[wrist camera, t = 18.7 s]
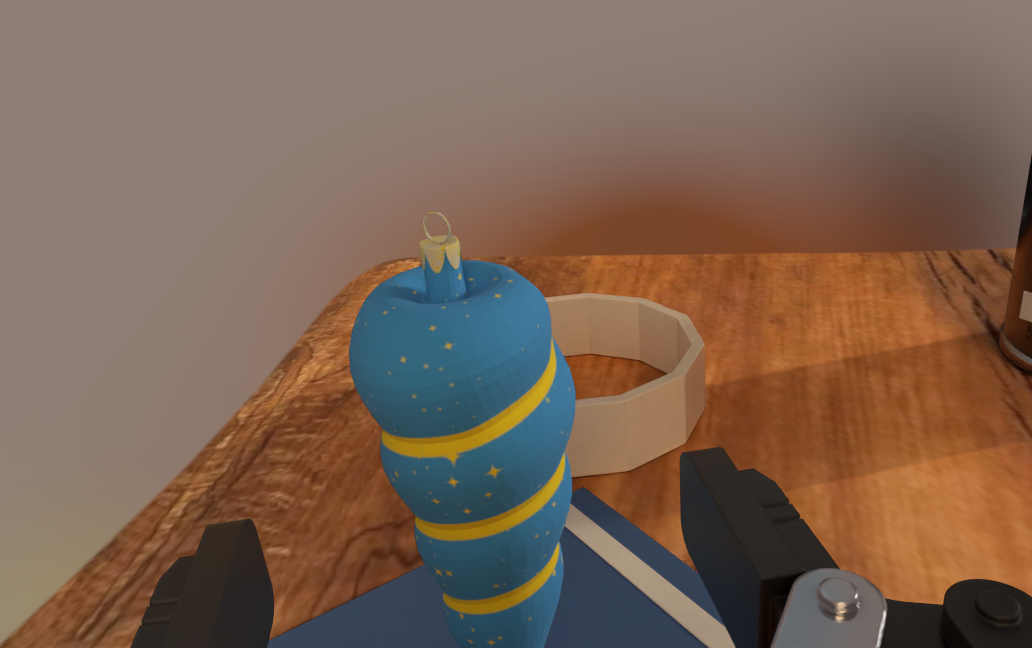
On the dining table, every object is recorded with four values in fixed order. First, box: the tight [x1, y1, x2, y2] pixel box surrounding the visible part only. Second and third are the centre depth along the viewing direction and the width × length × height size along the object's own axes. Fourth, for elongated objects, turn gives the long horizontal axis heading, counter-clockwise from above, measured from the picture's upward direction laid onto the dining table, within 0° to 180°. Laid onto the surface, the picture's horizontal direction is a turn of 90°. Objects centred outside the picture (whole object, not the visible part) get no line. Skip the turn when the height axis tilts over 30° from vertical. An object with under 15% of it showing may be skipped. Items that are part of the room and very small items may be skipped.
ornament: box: [349, 212, 576, 648], centre depth 20 cm, size 5×5×15 cm
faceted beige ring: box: [545, 293, 705, 477], centre depth 39 cm, size 12×12×4 cm
